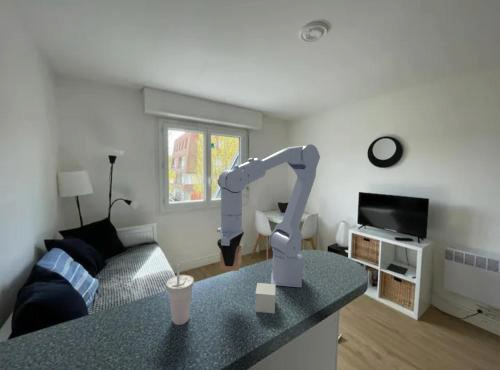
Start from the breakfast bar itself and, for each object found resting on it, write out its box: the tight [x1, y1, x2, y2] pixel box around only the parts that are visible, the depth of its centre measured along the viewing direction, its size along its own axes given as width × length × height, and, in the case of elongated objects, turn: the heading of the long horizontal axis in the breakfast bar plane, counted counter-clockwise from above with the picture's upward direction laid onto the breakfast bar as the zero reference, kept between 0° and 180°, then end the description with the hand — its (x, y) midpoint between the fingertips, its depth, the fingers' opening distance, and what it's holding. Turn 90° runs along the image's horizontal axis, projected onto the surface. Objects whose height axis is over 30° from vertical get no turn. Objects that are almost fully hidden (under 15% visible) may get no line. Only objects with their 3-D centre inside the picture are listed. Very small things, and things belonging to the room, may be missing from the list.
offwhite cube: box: [254, 282, 276, 314], centre depth 58 cm, size 5×5×5 cm
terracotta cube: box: [219, 245, 243, 272], centre depth 62 cm, size 5×5×5 cm
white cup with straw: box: [165, 263, 195, 326], centre depth 53 cm, size 6×6×14 cm
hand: (231, 261), depth 62 cm, fingers closed on terracotta cube, 5 cm apart
